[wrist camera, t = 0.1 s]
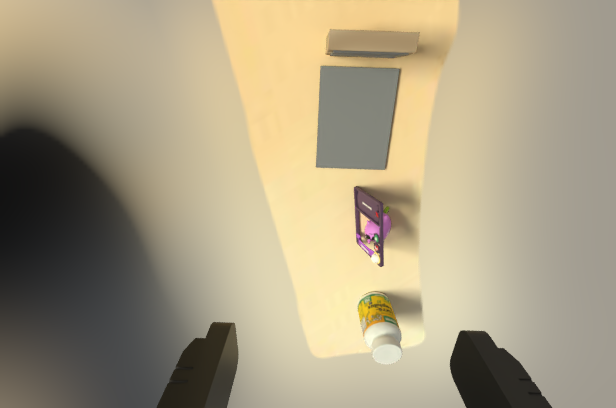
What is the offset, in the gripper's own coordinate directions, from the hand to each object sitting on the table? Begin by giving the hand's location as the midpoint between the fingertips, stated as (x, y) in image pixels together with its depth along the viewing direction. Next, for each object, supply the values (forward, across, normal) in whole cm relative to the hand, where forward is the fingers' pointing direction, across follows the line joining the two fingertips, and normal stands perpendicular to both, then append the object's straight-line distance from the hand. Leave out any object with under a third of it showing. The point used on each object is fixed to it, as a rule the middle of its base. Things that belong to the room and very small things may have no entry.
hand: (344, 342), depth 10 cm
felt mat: (+29, -4, -4) cm, 30 cm away
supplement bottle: (+29, -10, +25) cm, 40 cm away
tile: (+29, -4, -12) cm, 32 cm away
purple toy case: (+30, -8, +9) cm, 32 cm away
